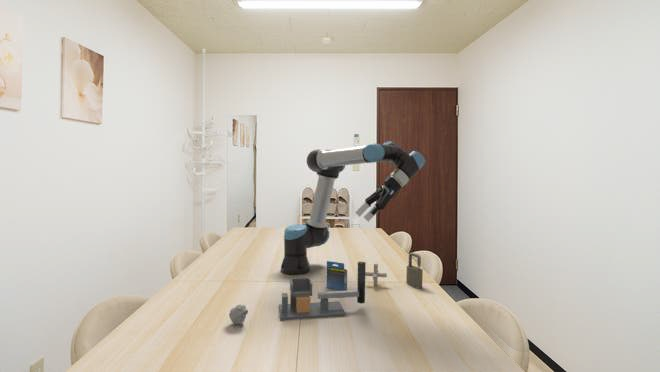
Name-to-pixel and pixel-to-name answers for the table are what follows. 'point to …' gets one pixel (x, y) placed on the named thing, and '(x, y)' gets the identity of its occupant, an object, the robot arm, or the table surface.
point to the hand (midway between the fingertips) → (361, 217)
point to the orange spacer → (303, 304)
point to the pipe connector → (375, 274)
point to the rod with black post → (350, 293)
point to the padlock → (414, 272)
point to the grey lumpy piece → (238, 314)
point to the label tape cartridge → (336, 276)
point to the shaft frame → (317, 309)
